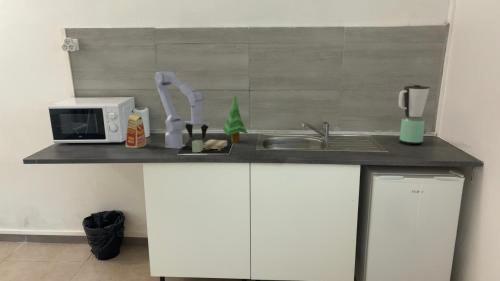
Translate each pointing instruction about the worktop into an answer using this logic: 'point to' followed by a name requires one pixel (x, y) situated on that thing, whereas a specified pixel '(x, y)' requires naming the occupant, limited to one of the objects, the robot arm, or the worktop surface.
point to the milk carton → (135, 132)
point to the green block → (197, 145)
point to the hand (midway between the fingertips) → (197, 137)
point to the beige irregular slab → (215, 144)
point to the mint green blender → (413, 114)
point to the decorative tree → (234, 123)
